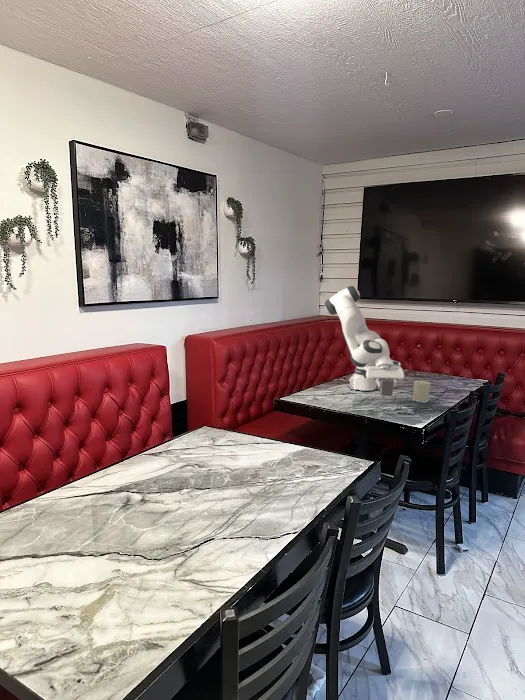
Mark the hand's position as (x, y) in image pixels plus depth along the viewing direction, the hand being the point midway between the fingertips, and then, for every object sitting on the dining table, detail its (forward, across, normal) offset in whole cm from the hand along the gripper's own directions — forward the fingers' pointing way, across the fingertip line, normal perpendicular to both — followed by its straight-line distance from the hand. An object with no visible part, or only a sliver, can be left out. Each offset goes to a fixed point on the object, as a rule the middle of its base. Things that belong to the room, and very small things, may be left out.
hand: (386, 387), depth 244 cm
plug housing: (+3, 0, +4) cm, 4 cm away
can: (-8, +28, +28) cm, 40 cm away
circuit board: (+6, +7, +15) cm, 17 cm away
